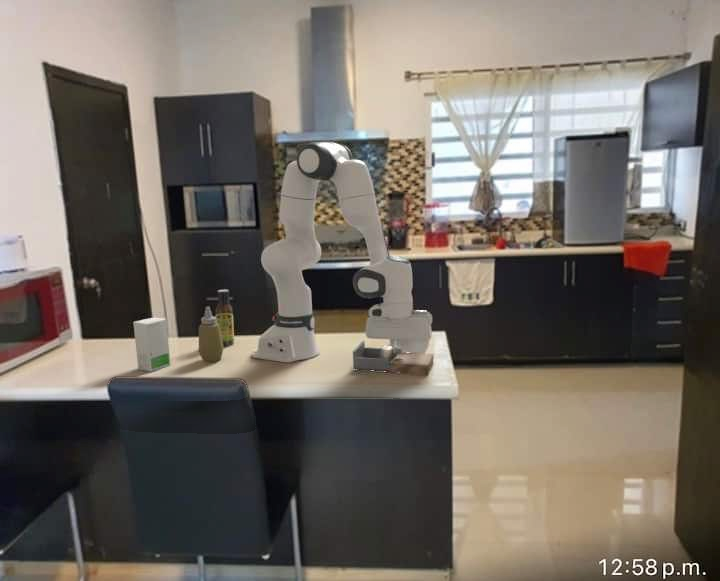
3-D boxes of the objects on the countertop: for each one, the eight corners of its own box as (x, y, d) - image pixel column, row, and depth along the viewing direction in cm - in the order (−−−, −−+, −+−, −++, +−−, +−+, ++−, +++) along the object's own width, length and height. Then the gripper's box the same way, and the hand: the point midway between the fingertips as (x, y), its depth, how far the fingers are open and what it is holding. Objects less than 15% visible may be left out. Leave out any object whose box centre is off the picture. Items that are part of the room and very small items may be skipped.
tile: (386, 366, 173) (378, 364, 173) (390, 361, 178) (382, 359, 178) (389, 351, 172) (381, 349, 172) (392, 346, 176) (385, 344, 177)
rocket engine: (392, 315, 200) (408, 316, 182) (417, 334, 202) (435, 336, 184) (374, 342, 198) (388, 345, 181) (399, 360, 200) (416, 366, 182)
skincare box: (150, 372, 176) (145, 324, 173) (136, 369, 179) (131, 322, 176) (171, 364, 183) (167, 318, 180) (158, 361, 186) (153, 316, 183)
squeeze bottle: (229, 357, 189) (225, 305, 185) (213, 365, 181) (209, 310, 178) (210, 354, 192) (205, 303, 188) (194, 362, 185) (189, 308, 181)
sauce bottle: (216, 347, 200) (211, 292, 196) (217, 342, 206) (213, 289, 202) (234, 346, 201) (230, 291, 197) (235, 341, 207) (231, 288, 203)
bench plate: (391, 372, 170) (391, 363, 169) (398, 361, 180) (398, 352, 180) (428, 375, 167) (428, 365, 166) (433, 363, 177) (433, 354, 177)
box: (353, 370, 173) (352, 351, 172) (362, 358, 183) (362, 341, 182) (391, 372, 170) (391, 353, 169) (398, 361, 180) (398, 343, 179)
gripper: (433, 308, 171) (433, 351, 174) (368, 305, 177) (369, 348, 179) (430, 313, 165) (430, 358, 168) (363, 310, 171) (364, 354, 174)
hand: (398, 353), depth 174 cm, fingers closed
